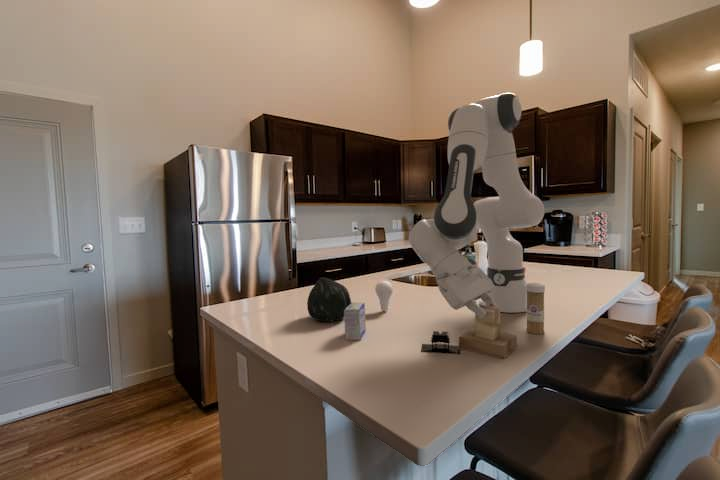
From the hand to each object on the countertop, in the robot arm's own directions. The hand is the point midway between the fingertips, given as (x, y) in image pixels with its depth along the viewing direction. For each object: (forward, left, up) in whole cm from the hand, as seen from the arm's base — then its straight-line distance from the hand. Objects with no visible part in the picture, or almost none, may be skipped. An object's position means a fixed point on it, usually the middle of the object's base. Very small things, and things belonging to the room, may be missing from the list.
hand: (490, 313), depth 86 cm
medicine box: (+13, -34, -9) cm, 37 cm away
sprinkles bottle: (-19, +5, -9) cm, 22 cm away
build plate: (+8, -10, -10) cm, 16 cm away
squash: (+6, -52, -9) cm, 53 cm away
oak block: (0, -1, -6) cm, 6 cm away
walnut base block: (0, -1, -9) cm, 9 cm away
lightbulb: (-11, -42, -9) cm, 44 cm away
